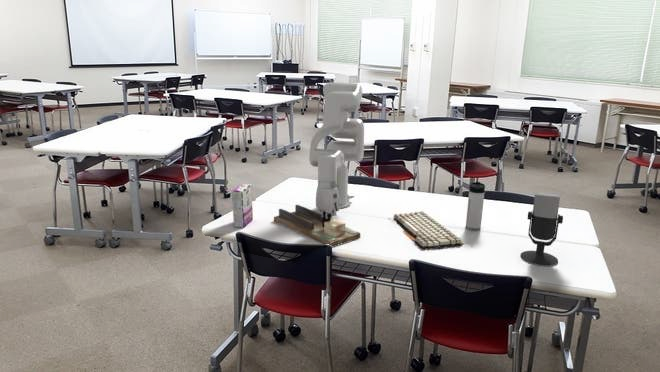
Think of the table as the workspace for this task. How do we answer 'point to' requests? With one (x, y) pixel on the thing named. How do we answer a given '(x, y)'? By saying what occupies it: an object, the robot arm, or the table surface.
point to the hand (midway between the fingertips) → (326, 226)
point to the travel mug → (475, 206)
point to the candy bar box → (242, 205)
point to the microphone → (543, 229)
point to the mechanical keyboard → (426, 231)
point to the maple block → (334, 228)
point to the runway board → (312, 226)
